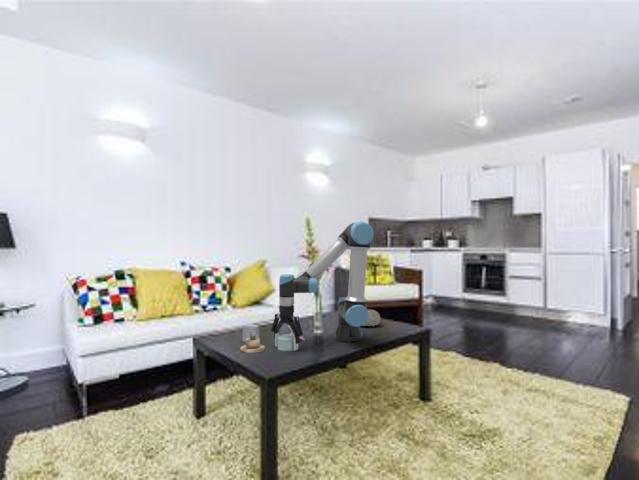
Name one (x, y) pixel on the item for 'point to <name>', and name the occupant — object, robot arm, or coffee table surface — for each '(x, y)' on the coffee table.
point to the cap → (286, 342)
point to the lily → (293, 333)
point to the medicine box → (247, 331)
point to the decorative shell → (372, 318)
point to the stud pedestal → (252, 344)
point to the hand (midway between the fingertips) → (286, 347)
